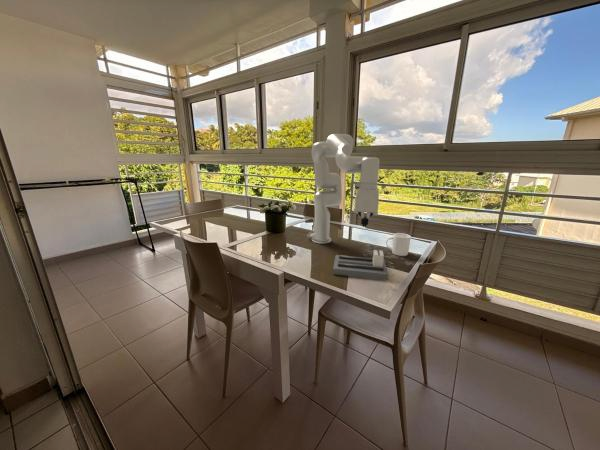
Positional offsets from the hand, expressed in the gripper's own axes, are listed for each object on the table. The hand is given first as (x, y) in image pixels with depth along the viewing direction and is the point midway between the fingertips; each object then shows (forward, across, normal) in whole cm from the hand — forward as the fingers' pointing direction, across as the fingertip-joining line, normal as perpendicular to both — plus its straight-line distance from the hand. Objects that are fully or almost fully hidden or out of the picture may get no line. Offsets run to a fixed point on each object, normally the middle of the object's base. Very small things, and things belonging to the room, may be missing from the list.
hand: (364, 226), depth 111 cm
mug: (+22, +20, +24) cm, 38 cm away
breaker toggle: (+18, +7, -2) cm, 19 cm away
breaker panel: (+21, 0, -2) cm, 21 cm away
